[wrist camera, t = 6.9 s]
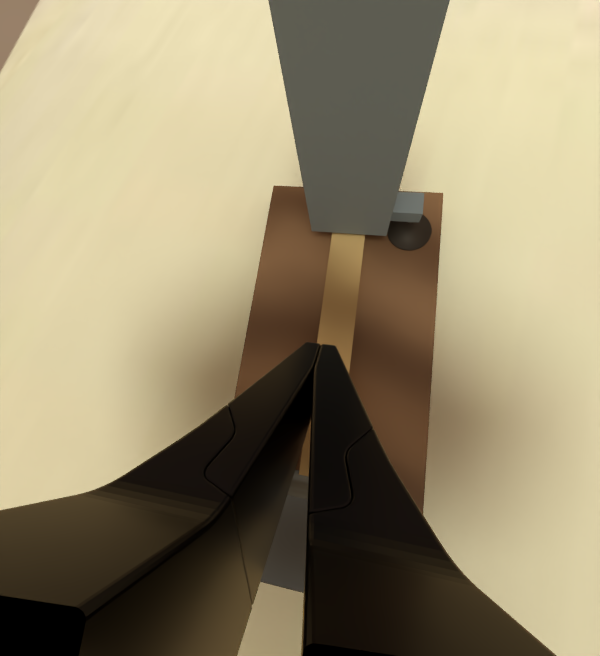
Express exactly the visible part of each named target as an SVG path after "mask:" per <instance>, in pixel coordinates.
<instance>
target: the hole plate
mask: <svg viewBox="0 0 600 656" xmlns="http://www.w3.org/2000/svg"><path fill="white" fill-rule="evenodd" d="M398 192H406V191H398ZM418 193H424V204H423V215H422V217H421V219H420V221H419V223H418V222H416V223H414V224H409V223H407V222H401V221H390V224H389V228H388V232H387V235H386V236H378V235H363V234H347V233H332V232H317V231H312V229H311V224H310V219H309V213H308V208H307V203H306V197H305V192H304V187H291V186H274V187H273V192H272V198H271V203H270V209H269V214H268V219H267V225H266V230H265V236H264V241H263V247H262V252H261V257H260V263H259V268H258V274H257V279H256V284H255V290H254V295H253V301H252V306H251V311H250V317H249V322H248V328H247V333H246V339H245V344H244V349H243V355H242V360H241V366H240V371H239V376H238V382H237V387H236V393H235V398H236V397H237V396H239V395H240V394H241V393H242V392H244V391H245V390H246V389H248V388H249V387H250V386H251V385H253V384H254V383H255V382H256V381H258V380H259V379H260V378H261V377H263V376H264V375H265V374H266V373H268V372H269V371H270V370H271V369H273V368H274V367H275V366H277V365H278V364H279V363H280V362H282V361H283V360H284V359H285V358H287V357H288V356H289V355H290V354H292V353H293V352H294V351H295V350H297V349H298V348H299V347H301V346H302V345H303V344H304V343H306V342H312V343H319V344H320V345H322V344H328V345H335V346H336V347H337V349H338V351H339V353H340V356H341V358H342V360H343V362H344V364H345V366H346V369H347V371H348V373H349V375H350V377H351V380H352V382H353V384H354V386H355V388H356V390H357V393H358V395H359V397H360V399H361V401H362V403H363V406H364V408H365V410H366V412H367V414H368V416H369V419H370V421H371V423H372V425H373V427H374V430H375V431H376V434H377V436H378V438H379V440H380V442H381V444H382V446H383V448H384V450H385V452H386V454H387V456H388V458H389V460H390V462H391V464H392V465H393V467H394V469H395V470H396V472H397V474H398V476H399V477H400V479H401V481H402V482H403V484H404V486H405V487H406V489H407V490H408V492H409V494H410V495H411V497H412V498H413V500H414V502H415V503H416V505H417V506H418V508H419V509H420V511H421V513H422V514H423V505H424V489H425V473H426V457H427V442H428V426H429V410H430V394H431V378H432V362H433V347H434V331H435V315H436V299H437V283H438V268H439V252H440V236H441V220H442V204H443V193H430V192H418ZM235 398H234V399H235ZM310 432H311V421H310V424H309V428H308V431H307V434H306V437H305V441H304V444H303V447H302V450H301V453H300V456H299V460H298V463H297V466H296V469H295V472H294V475H293V479H292V482H291V485H290V488H289V491H288V495H287V498H286V501H285V504H284V507H283V510H282V514H281V517H280V520H279V523H278V526H277V529H276V533H275V536H274V539H273V542H272V545H271V549H270V552H269V555H268V558H267V561H266V564H265V568H264V571H263V574H262V577H261V580H260V582H263V583H267V584H271V585H275V586H279V587H283V588H287V589H291V590H295V591H299V592H302V593H304V576H305V552H306V528H307V504H308V480H309V456H310Z"/></svg>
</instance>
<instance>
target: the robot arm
mask: <svg viewBox="0 0 600 656" xmlns="http://www.w3.org/2000/svg"><path fill="white" fill-rule="evenodd" d="M310 421H311V432H310V456H309V480H308V504H307V528H306V552H305V576H304V600H303V625H302V649H301V656H556V655H555V654H554V653H553V652H552V651H550V650H549V649H548V648H547V647H546V646H545V645H543V644H542V643H541V642H540V641H539V640H538V639H536V638H535V637H534V636H533V635H532V634H531V633H530V632H528V631H527V630H526V629H525V628H524V627H523V626H521V625H520V624H519V623H518V622H517V621H516V620H514V619H513V618H512V617H511V616H510V615H509V614H507V613H506V612H505V611H504V610H503V609H502V608H501V607H499V606H498V605H497V604H496V603H495V602H494V601H492V600H491V599H490V598H489V597H488V596H487V595H485V594H484V593H483V592H482V591H481V590H480V589H479V588H477V587H476V586H475V585H474V584H473V583H472V582H471V581H470V580H469V579H468V578H467V577H466V576H465V575H464V574H463V572H462V571H461V570H460V569H459V568H458V567H457V565H456V564H455V563H454V562H453V560H452V559H451V558H450V556H449V555H448V554H447V552H446V551H445V549H444V548H443V546H442V544H441V543H440V541H439V540H438V538H437V537H436V535H435V533H434V532H433V530H432V529H431V527H430V525H429V524H428V522H427V521H426V519H425V517H424V516H423V514H422V513H421V511H420V509H419V508H418V506H417V505H416V503H415V502H414V500H413V498H412V497H411V495H410V494H409V492H408V490H407V489H406V487H405V486H404V484H403V482H402V481H401V479H400V477H399V476H398V474H397V472H396V470H395V469H394V467H393V465H392V464H391V462H390V460H389V458H388V456H387V454H386V452H385V450H384V448H383V446H382V444H381V442H380V440H379V438H378V436H377V434H376V431H375V430H374V427H373V425H372V423H371V421H370V419H369V416H368V414H367V412H366V410H365V408H364V406H363V403H362V401H361V399H360V397H359V395H358V393H357V390H356V388H355V386H354V384H353V382H352V380H351V377H350V375H349V373H348V371H347V369H346V366H345V364H344V362H343V360H342V358H341V356H340V353H339V351H338V349H337V347H336V346H335V345H328V344H322V345H320V344H319V343H312V342H306V343H304V344H303V345H302V346H301V347H299V348H298V349H297V350H295V351H294V352H293V353H292V354H290V355H289V356H288V357H287V358H285V359H284V360H283V361H282V362H280V363H279V364H278V365H277V366H275V367H274V368H273V369H271V370H270V371H269V372H268V373H266V374H265V375H264V376H263V377H261V378H260V379H259V380H258V381H256V382H255V383H254V384H253V385H251V386H250V387H249V388H248V389H246V390H245V391H244V392H242V393H241V394H240V395H239V396H237V397H236V398H235V399H234V400H232V401H231V402H230V403H229V404H228V406H227V405H226V406H225V407H223V408H222V409H221V410H220V411H218V412H217V413H216V414H214V415H213V416H212V417H210V418H209V419H208V420H206V421H205V422H204V423H202V424H201V425H200V426H198V427H197V428H195V429H194V430H192V431H191V432H190V433H188V434H187V435H185V436H184V437H182V438H181V439H179V440H178V441H176V442H175V443H173V444H171V445H170V446H168V447H167V448H165V449H164V450H162V451H161V452H159V453H157V454H156V455H154V456H153V457H151V458H150V459H148V460H147V461H145V462H143V463H142V464H140V465H139V466H137V467H136V468H134V469H133V470H131V471H130V472H128V473H126V474H125V475H123V476H121V477H120V478H118V479H116V480H115V481H113V482H111V483H109V484H107V485H105V486H102V487H100V488H97V489H95V490H92V491H89V492H86V493H82V494H78V495H73V496H68V497H63V498H59V499H54V500H49V501H44V502H39V503H34V504H29V505H24V506H19V507H15V508H10V509H5V510H0V656H237V654H238V650H239V647H240V644H241V641H242V638H243V635H244V631H245V628H246V625H247V622H248V619H249V616H250V612H251V609H252V604H253V603H254V599H255V596H256V593H257V590H258V587H259V583H260V580H261V577H262V574H263V571H264V568H265V564H266V561H267V558H268V555H269V552H270V549H271V545H272V542H273V539H274V536H275V533H276V529H277V526H278V523H279V520H280V517H281V514H282V510H283V507H284V504H285V501H286V498H287V495H288V491H289V488H290V485H291V482H292V479H293V475H294V472H295V469H296V466H297V463H298V460H299V456H300V453H301V450H302V447H303V444H304V441H305V437H306V434H307V431H308V428H309V424H310Z"/></svg>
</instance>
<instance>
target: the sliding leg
mask: <svg viewBox="0 0 600 656" xmlns="http://www.w3.org/2000/svg"><path fill="white" fill-rule="evenodd" d="M449 1H450V0H269V5H270V11H271V16H272V21H273V27H274V32H275V37H276V43H277V48H278V53H279V59H280V64H281V69H282V75H283V80H284V85H285V91H286V96H287V101H288V107H289V112H290V117H291V123H292V128H293V133H294V139H295V144H296V149H297V155H298V160H299V165H300V171H301V176H302V181H303V187H304V192H305V197H306V203H307V208H308V213H309V219H310V224H311V229H312V231H317V232H332V233H347V234H363V235H378V236H386V235H387V232H388V228H389V224H390V221H401V222H407V223H409V224H414V223H416V222H418V223H419V221H420V219H421V217H422V215H423V204H424V193H418V192H398V191H399V187H400V183H401V180H402V176H403V172H404V168H405V165H406V161H407V157H408V153H409V150H410V146H411V142H412V139H413V135H414V131H415V127H416V124H417V120H418V116H419V113H420V109H421V105H422V101H423V98H424V94H425V90H426V86H427V83H428V79H429V75H430V72H431V68H432V64H433V60H434V57H435V53H436V49H437V45H438V42H439V38H440V34H441V31H442V27H443V23H444V19H445V16H446V12H447V8H448V4H449Z"/></svg>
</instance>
